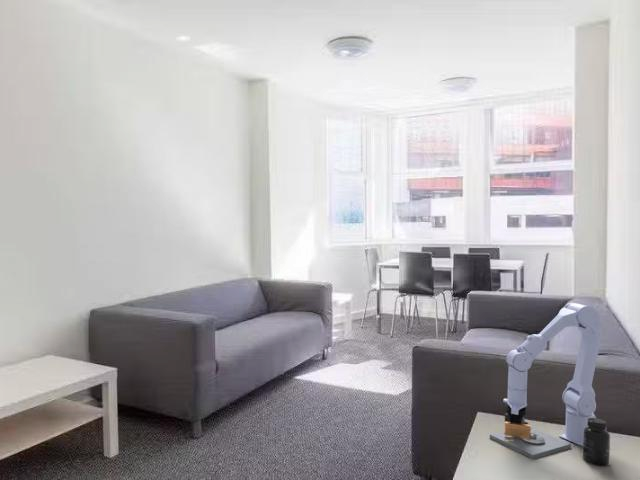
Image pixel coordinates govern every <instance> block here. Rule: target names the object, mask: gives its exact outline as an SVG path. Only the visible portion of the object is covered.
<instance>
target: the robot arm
mask: <svg viewBox="0 0 640 480" xmlns="http://www.w3.org/2000/svg"><path fill="white" fill-rule="evenodd" d="M600 319H601V314H600V313H599V311H597V309H595V307H593V306H591V305H585V304H581V303H577V302H575V301H574V302H569V303H567V304H565V306H564V307H562V308H561V309H560V310H559V311H558V314H557V315H556V316H555V317H554V318H553V319H552V320H551V321H549V323H548V324H547V325H546V326H545V327H543V329H542V330H541V331H540V332H539V333H538V334H535V333H534V334H533V333H532V334H531V335H530V334H529V335H527V336H526V340H524V342H522V343H521V344H520V345H517V346H516V348H515V349H512V350H510V351H508V353H507V355H506V356H505V361H506V363H507V364H508V373H507V374H508V375H507V398H503V403H506V404H507V407H506V409H505V410H506V413H508V415H509V418H510V422H513V423H521V421H522V418H523V417H524V416H525V415H526V410H527V406H528V403H527V394H528V393H527V392H528V391H527V390H528V370H529V369H531V367H532V363H533V361H534V360H535V359H536V358H537V357H538V356H539V355H540V354H541V353H542V352H544V351H545V350H546V349H547V348H548V342H549V341H550V340H551V339H553V338H554V337H555V336H557V335H558V334H559V333H561V332H562V331H563V330H564V329H565V328H567V327H576V328H578V330H579V331H580V332H581V336H580V337H581V338H580V344H579V348H578V353H577V357H576V362H575V367H574V373H573V377H572V379H571V380H570V381H569V382H567V386H566V387H565V389H564V391H563V392H562V396H561V398H562V401H563V403H564V404H565V427H564V428H565V430H564V431H565V433H562V434H559V438H560V439H561V438H562V439H564V440H566V441H569V442H570V443H574V444H576V445H579V446H582V447H583V431H584V429H585V428H586V427H588V425H587V423H588V418H597V417H596V415H595V411H596V409H597V403H596V393H595V389H594V388H593V386H592V385H593V379H594V375H595V369H596V365H597V361H598V360H597V359H598V355H599V351H600V346H601V342H602V336H603V329H602V325H601V322H600Z"/></svg>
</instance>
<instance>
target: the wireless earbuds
mask: <svg viewBox="0 0 640 480" xmlns="http://www.w3.org/2000/svg"><path fill="white" fill-rule="evenodd" d="M505 422H510V418H509V415H508V413H507V412H505V413H504V423H505ZM521 424H529V425H530V426H531V424H530V423H529V422H528V421H525V417H524V416H523V418H522V421H521Z"/></svg>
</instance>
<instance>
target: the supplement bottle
mask: <svg viewBox="0 0 640 480" xmlns="http://www.w3.org/2000/svg"><path fill="white" fill-rule="evenodd" d="M607 424H608V423H607V421H605V420H604V419H601V418H597V417H596V418H588V423H587V425H588V427H586V428H585V429H584V431H583V446H582V458H583V459H582V460H584V462H586V463H589V464H591V465H594V466H598V467H606V466H608V465H609V464H610V451H611V449H610V447H611V434H610V432H609V431H608V430H607V429H608V428H607Z"/></svg>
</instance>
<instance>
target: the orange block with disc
mask: <svg viewBox="0 0 640 480" xmlns="http://www.w3.org/2000/svg"><path fill="white" fill-rule="evenodd" d="M529 424H530V423H528V424H521V423H513V422H505V421H504V430H503V431H504V434H505V435H507V436H514V437H521V439H522V440H524V441H526V442H528V443H532V444H543V443H544V442H545V439H544V438H543V437H541V436H539V435H536V434H534V433H531V427H532V426H531V424H530V425H529Z"/></svg>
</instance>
